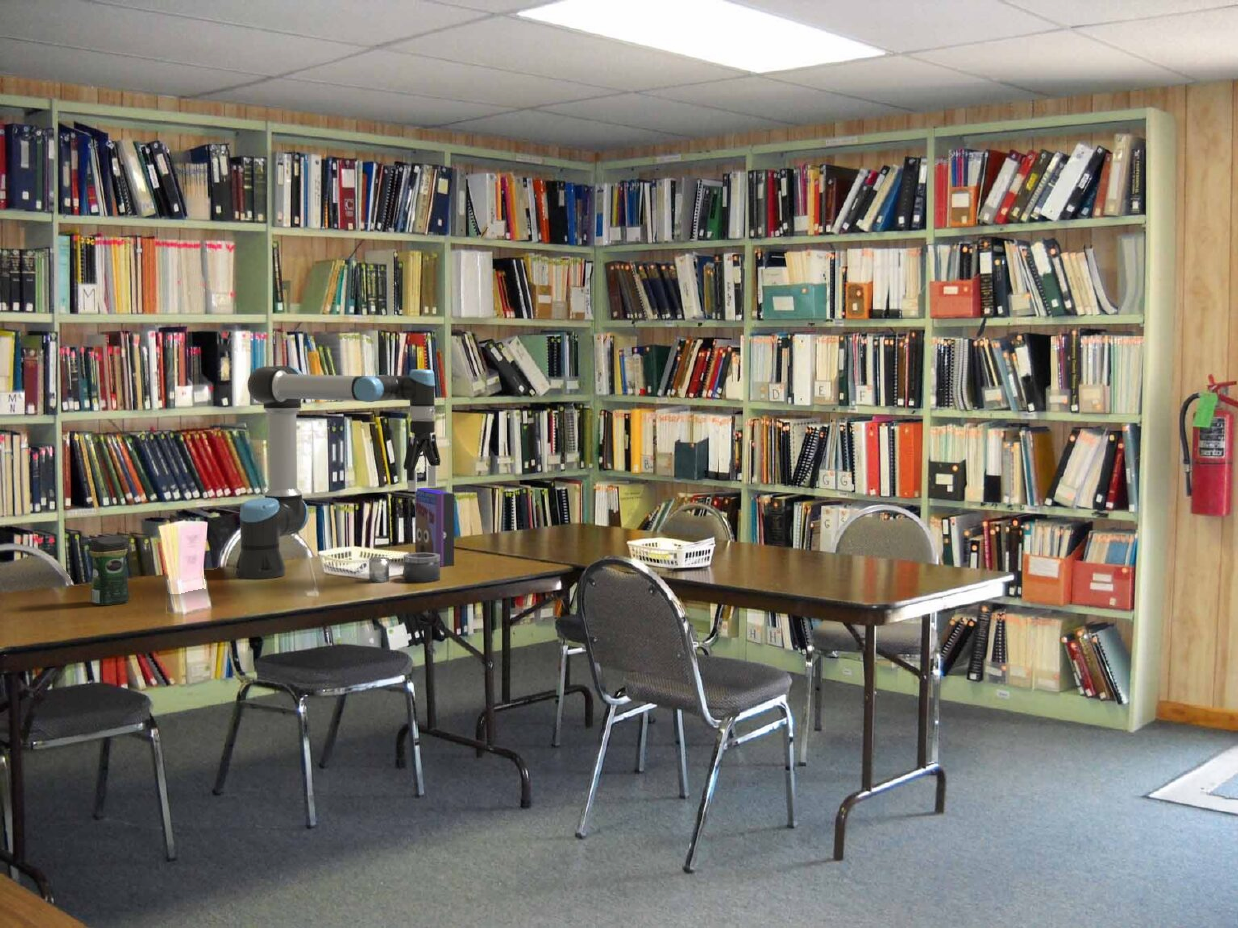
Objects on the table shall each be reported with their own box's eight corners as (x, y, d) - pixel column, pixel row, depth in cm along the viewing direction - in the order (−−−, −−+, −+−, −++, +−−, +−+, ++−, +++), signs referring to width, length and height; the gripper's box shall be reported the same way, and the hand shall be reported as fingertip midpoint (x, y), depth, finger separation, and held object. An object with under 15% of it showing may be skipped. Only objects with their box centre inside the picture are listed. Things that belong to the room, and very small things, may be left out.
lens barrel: (397, 581, 408) (397, 557, 407) (413, 575, 418) (413, 551, 417) (430, 583, 404) (430, 559, 404) (445, 577, 415) (445, 553, 414)
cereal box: (415, 559, 448) (415, 488, 446) (427, 558, 451) (427, 487, 449) (441, 567, 434) (441, 493, 432) (454, 565, 437) (454, 492, 435)
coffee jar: (120, 598, 376) (119, 533, 374) (133, 602, 370) (131, 536, 368) (86, 602, 369) (84, 536, 367) (98, 607, 363) (96, 539, 362)
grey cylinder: (365, 582, 406) (365, 559, 405) (374, 578, 412) (374, 556, 411) (383, 583, 404) (383, 560, 403) (392, 580, 410) (392, 557, 409)
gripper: (414, 422, 396) (414, 493, 398) (451, 418, 420) (451, 485, 422) (391, 421, 398) (392, 492, 400) (429, 417, 422) (429, 484, 424)
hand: (422, 488), depth 411 cm, fingers open, 13 cm apart
